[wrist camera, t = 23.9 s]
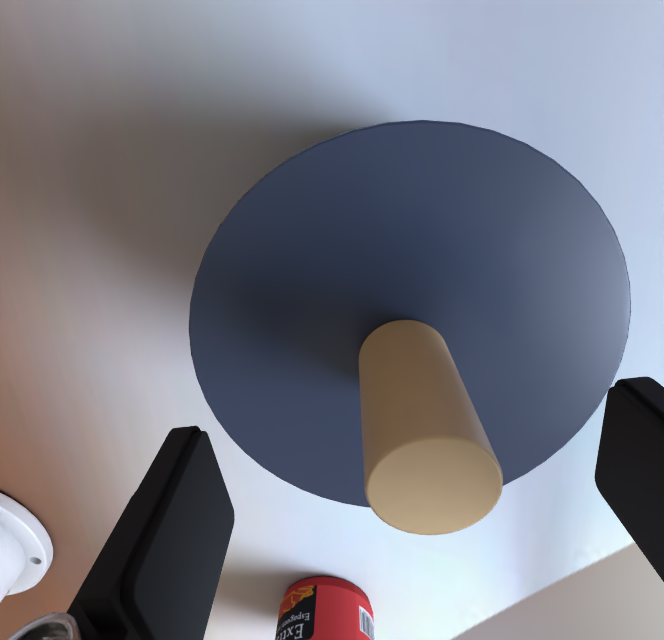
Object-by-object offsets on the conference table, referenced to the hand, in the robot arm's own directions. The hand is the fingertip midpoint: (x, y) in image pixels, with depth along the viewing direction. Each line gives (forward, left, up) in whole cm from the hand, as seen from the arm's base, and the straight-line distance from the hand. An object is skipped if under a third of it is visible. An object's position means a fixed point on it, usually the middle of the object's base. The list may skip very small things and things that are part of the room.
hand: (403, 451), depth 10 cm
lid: (0, 0, -4) cm, 4 cm away
